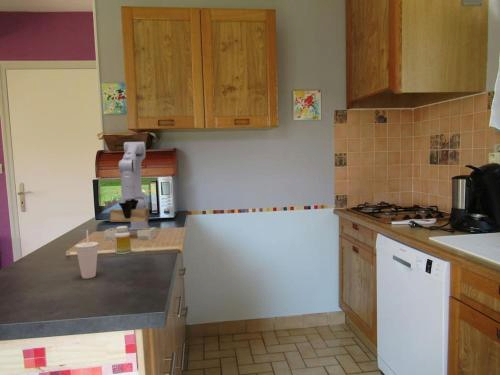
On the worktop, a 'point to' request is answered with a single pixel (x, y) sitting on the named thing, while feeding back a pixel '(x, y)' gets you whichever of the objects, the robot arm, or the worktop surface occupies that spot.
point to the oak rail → (136, 215)
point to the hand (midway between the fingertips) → (129, 217)
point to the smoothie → (87, 257)
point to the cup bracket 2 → (146, 233)
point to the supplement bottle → (122, 240)
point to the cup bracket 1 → (110, 234)
